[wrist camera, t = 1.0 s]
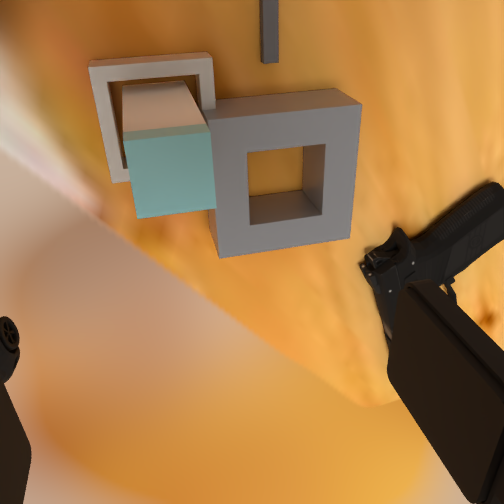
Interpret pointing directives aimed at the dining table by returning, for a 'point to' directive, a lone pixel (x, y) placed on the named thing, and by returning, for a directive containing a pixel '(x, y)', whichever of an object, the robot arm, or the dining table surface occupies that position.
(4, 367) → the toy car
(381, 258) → the handgun
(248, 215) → the port
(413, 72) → the dining table surface
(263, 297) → the dining table surface
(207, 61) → the grey square frame
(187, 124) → the plug
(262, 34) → the dark grey bar
